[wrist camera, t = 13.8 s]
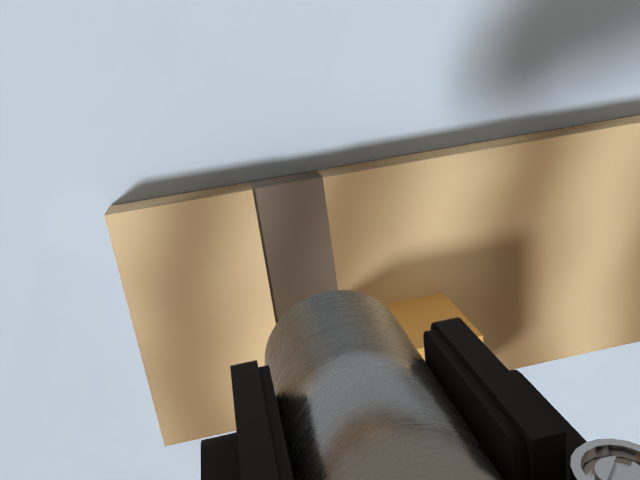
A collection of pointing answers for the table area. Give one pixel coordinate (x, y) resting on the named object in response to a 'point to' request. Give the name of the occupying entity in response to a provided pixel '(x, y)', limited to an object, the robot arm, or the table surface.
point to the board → (388, 256)
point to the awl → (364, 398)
